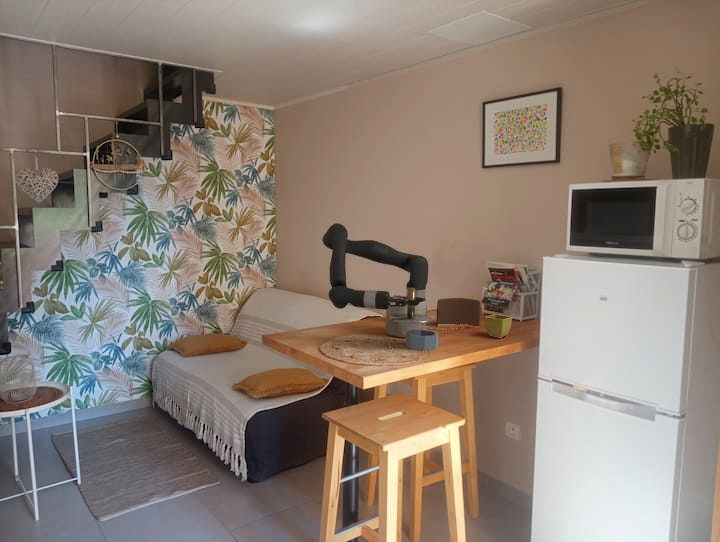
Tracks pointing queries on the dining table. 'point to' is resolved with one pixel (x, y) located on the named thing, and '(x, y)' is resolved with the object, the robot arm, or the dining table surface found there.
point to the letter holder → (458, 311)
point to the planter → (400, 328)
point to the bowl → (422, 339)
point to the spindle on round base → (411, 313)
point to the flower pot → (498, 325)
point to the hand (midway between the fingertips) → (418, 302)
